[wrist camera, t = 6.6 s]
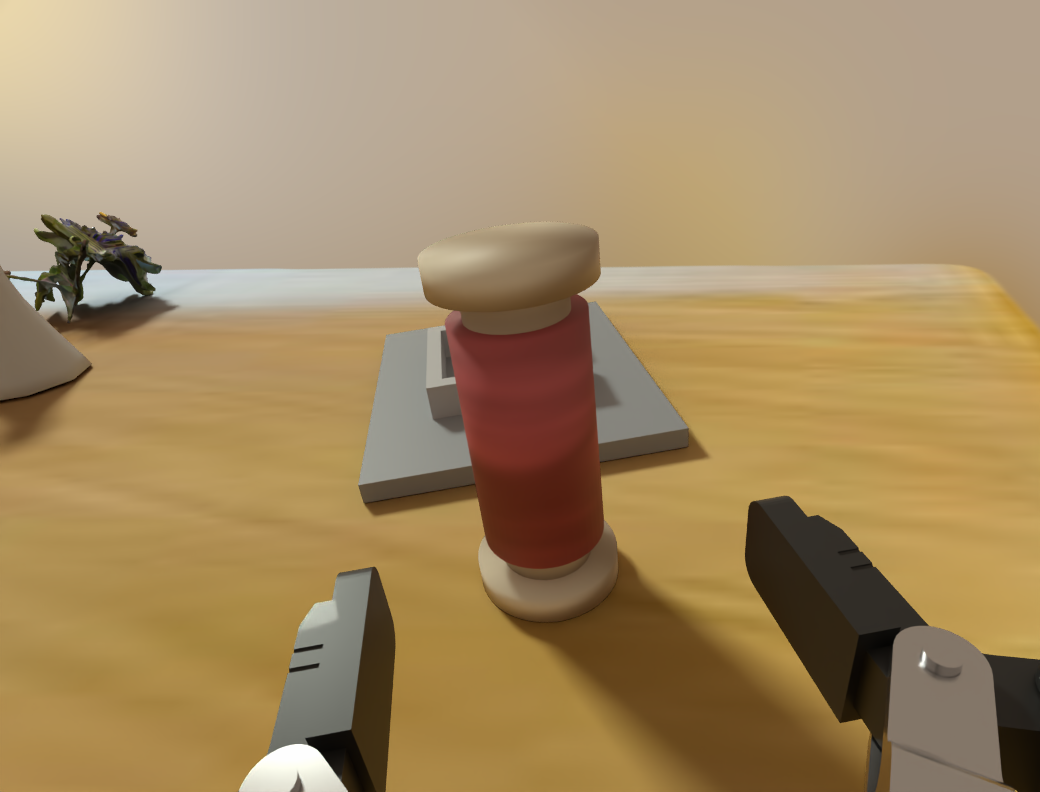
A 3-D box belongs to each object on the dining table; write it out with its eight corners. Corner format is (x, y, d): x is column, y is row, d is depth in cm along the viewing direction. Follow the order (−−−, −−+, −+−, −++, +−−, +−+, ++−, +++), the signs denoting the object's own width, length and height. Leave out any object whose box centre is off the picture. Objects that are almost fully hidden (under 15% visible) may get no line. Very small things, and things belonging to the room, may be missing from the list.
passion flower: (163, 342, 67) (189, 250, 61) (61, 369, 57) (81, 262, 52) (92, 283, 68) (110, 187, 63) (-19, 300, 59) (-9, 188, 53)
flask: (98, 352, 50) (38, 231, 45) (88, 383, 44) (18, 247, 40) (-7, 379, 48) (-81, 253, 43) (-32, 415, 42) (-122, 274, 37)
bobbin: (604, 633, 20) (575, 270, 14) (461, 609, 21) (384, 275, 16) (628, 530, 24) (613, 218, 18) (507, 516, 25) (459, 225, 20)
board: (688, 446, 28) (688, 393, 27) (363, 503, 27) (347, 451, 26) (596, 314, 44) (594, 277, 43) (389, 348, 43) (380, 310, 42)
